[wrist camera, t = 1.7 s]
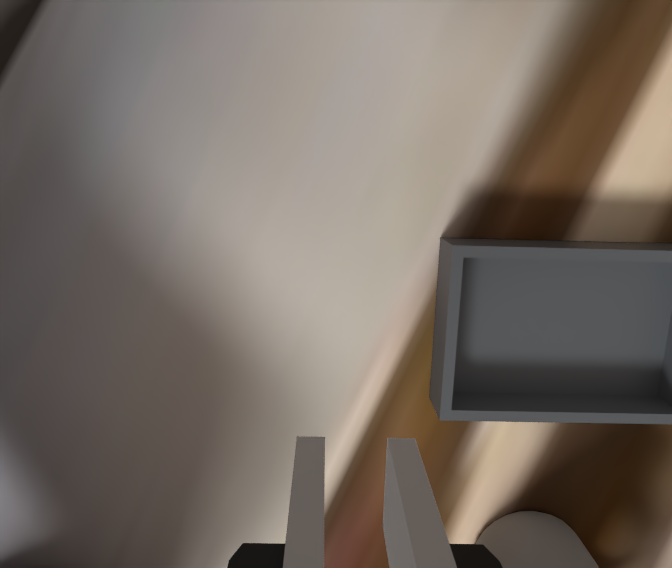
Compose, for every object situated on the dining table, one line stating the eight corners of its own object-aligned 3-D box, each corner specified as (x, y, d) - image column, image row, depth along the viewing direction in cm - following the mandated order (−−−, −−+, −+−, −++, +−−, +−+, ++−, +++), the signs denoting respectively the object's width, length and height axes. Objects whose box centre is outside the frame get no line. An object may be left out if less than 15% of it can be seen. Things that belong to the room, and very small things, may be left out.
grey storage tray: (429, 397, 32) (439, 420, 29) (440, 237, 30) (452, 245, 27) (659, 401, 32) (692, 424, 29) (686, 243, 30) (724, 252, 27)
